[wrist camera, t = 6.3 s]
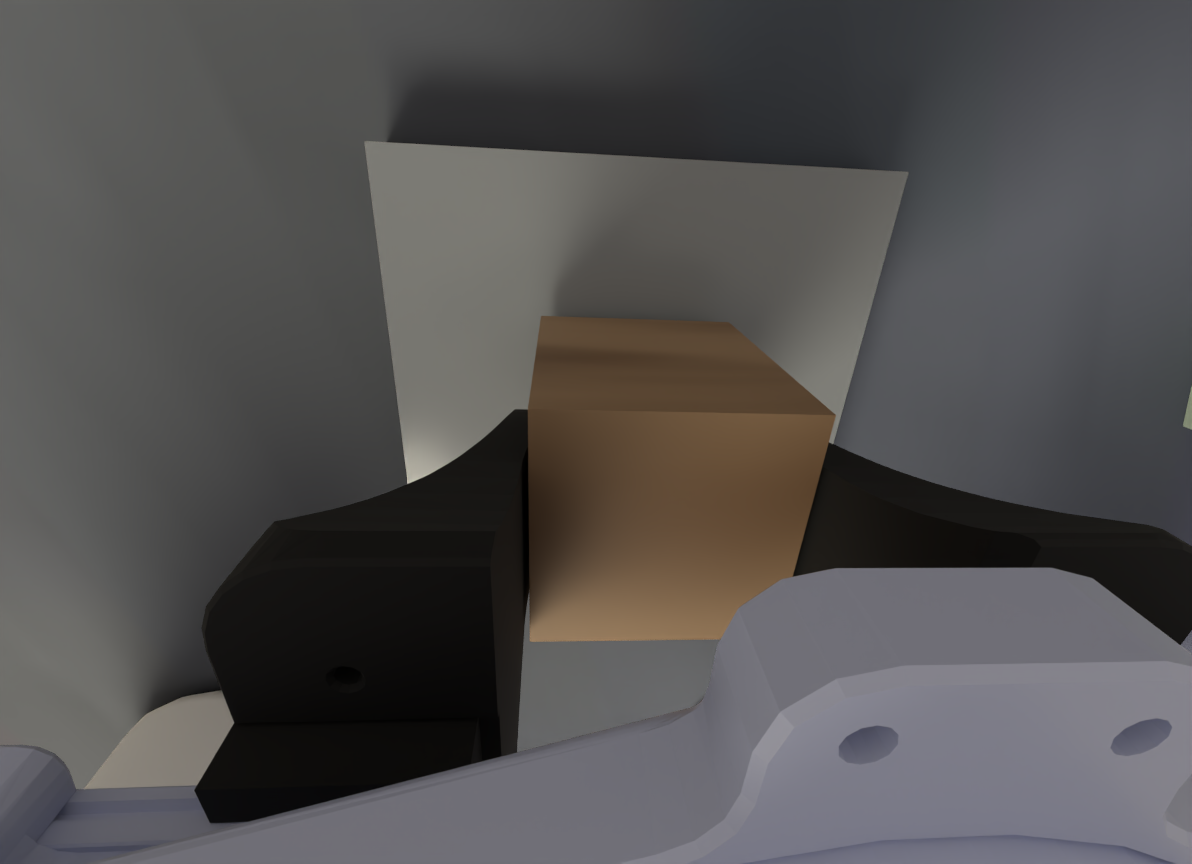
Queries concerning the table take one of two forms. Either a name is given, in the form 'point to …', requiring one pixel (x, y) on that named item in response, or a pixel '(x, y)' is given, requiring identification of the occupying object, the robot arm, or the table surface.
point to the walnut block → (662, 477)
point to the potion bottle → (168, 745)
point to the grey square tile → (609, 267)
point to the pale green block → (1188, 413)
